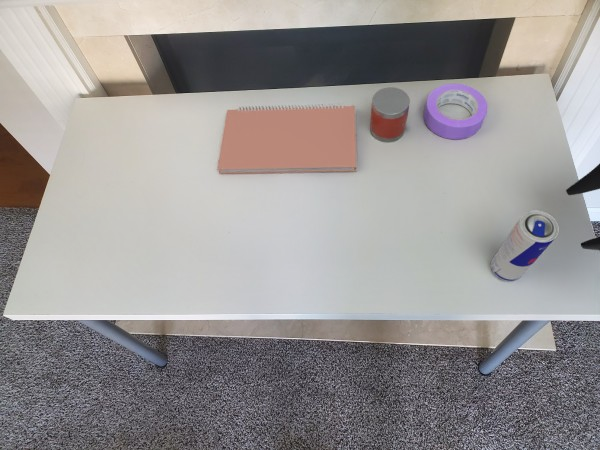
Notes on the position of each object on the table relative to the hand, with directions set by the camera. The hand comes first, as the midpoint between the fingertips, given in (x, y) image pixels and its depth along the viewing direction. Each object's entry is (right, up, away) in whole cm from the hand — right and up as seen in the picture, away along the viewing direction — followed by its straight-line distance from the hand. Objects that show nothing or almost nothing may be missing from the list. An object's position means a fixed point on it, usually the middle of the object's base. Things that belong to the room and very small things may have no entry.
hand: (574, 218), depth 62 cm
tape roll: (-7, +21, +29) cm, 36 cm away
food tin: (-21, +19, +29) cm, 40 cm away
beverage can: (-4, -8, +12) cm, 15 cm away
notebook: (-41, +16, +29) cm, 53 cm away
